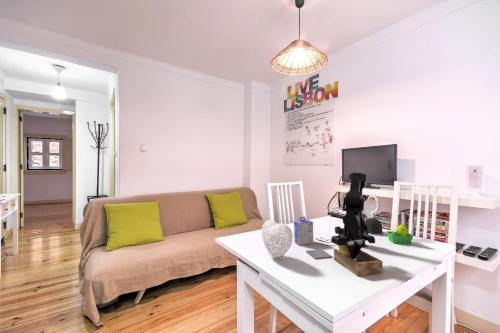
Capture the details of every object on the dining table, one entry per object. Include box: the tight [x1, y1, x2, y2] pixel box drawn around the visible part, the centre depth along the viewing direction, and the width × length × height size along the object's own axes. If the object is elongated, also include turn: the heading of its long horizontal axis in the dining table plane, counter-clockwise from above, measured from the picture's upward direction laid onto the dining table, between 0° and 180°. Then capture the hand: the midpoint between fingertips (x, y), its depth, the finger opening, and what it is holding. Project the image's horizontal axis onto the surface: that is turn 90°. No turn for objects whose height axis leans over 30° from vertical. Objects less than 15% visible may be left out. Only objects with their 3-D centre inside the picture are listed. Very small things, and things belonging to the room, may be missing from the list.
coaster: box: [305, 248, 333, 260], centre depth 110 cm, size 9×9×1 cm
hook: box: [365, 194, 384, 236], centre depth 146 cm, size 11×11×25 cm
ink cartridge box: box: [293, 216, 314, 246], centre depth 127 cm, size 10×6×14 cm, turn 108°
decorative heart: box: [261, 219, 294, 262], centre depth 106 cm, size 18×11×17 cm, turn 35°
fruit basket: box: [386, 223, 414, 245], centre depth 128 cm, size 11×9×11 cm
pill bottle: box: [337, 234, 352, 257], centre depth 105 cm, size 6×6×12 cm
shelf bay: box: [333, 248, 383, 277], centre depth 98 cm, size 11×16×5 cm
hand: (353, 259), depth 99 cm, fingers closed
